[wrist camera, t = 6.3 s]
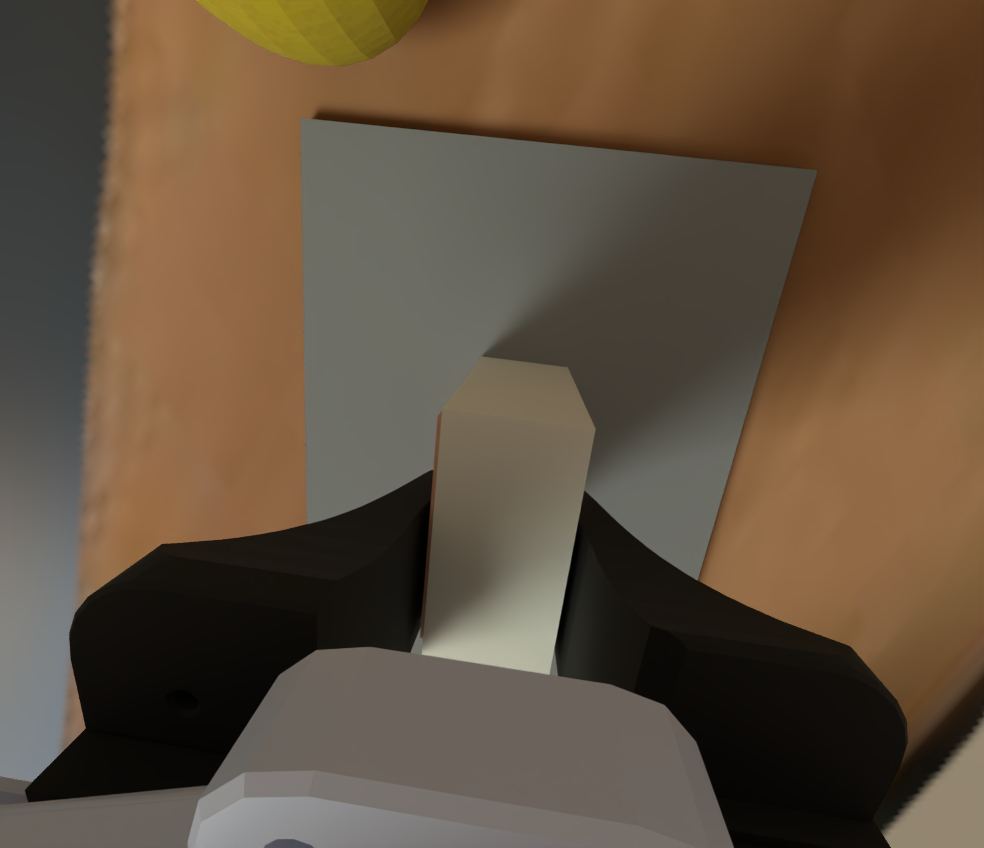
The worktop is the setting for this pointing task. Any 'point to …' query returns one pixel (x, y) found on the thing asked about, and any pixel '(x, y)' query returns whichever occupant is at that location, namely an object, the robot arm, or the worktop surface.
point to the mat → (539, 307)
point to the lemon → (320, 26)
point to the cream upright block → (504, 514)
